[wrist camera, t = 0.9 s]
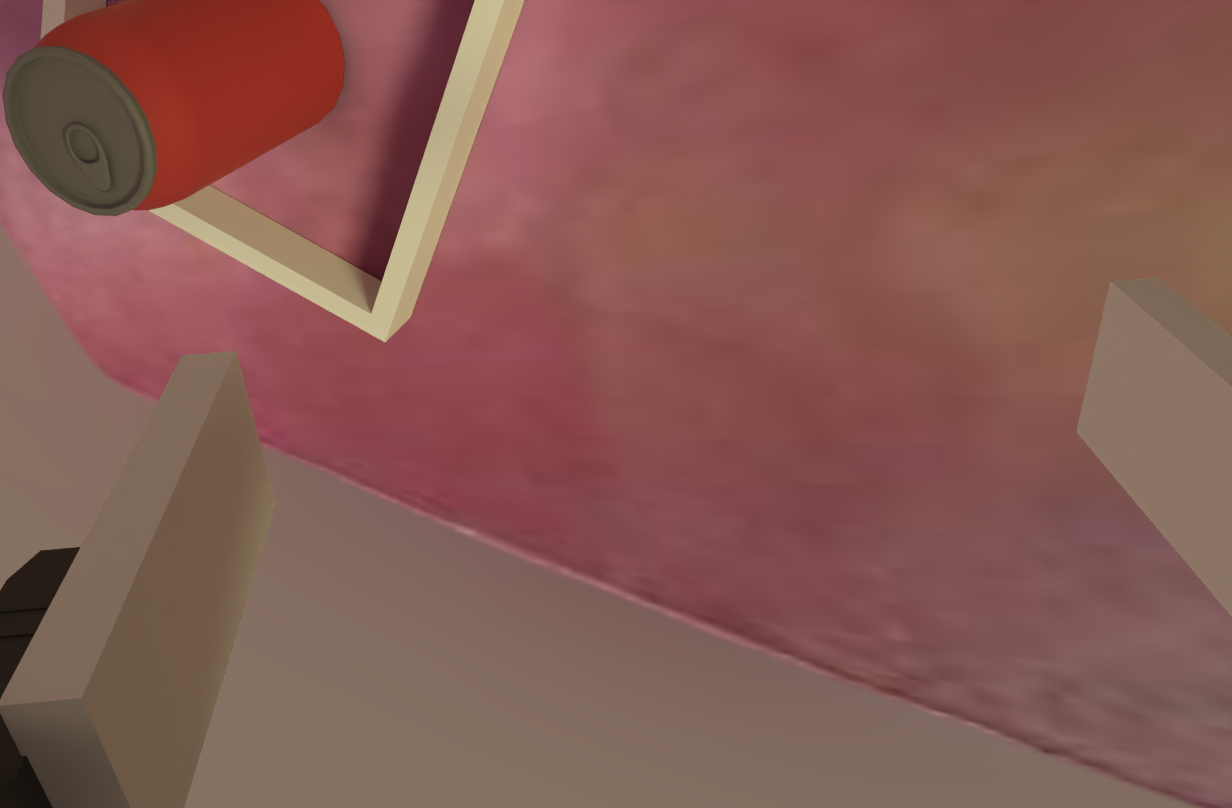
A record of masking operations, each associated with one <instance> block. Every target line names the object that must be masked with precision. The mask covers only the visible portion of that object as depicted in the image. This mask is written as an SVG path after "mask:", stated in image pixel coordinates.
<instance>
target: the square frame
mask: <svg viewBox="0 0 1232 808" xmlns="http://www.w3.org/2000/svg"><path fill="white" fill-rule="evenodd" d="M106 1H107V0H43V11H42V25H41V39H42V38H43V37H44V36H45V35H46V34H47V33H49V32H50V31H51V30H53V29H54V28H55V27H57V26H59V25H60V24H62V23H64V22H66V21H68V20H70V19H72V18H74V17H76V16H78V15H81V14H84V13H88V12H91V11H94V10H97V9H101V8H104V7H106ZM524 1H525V0H475V1H474V5H473V8H472V11H471V14H470V17H469V20H468V23H467V26H466V29H465V32H464V35H463V38H462V41H461V44H460V47H459V50H458V53H457V56H456V59H455V62H454V65H453V68H452V71H451V74H450V77H449V80H448V83H447V86H446V89H445V92H444V95H443V98H442V101H441V104H440V107H439V110H438V113H437V116H436V119H435V123H434V126H433V129H432V132H431V135H430V138H429V141H428V144H427V147H426V150H425V153H424V156H423V159H422V162H421V165H420V168H419V171H418V174H417V177H416V180H415V183H414V186H413V189H412V192H411V195H410V198H409V201H408V204H407V207H406V210H405V213H404V216H403V219H402V222H401V225H400V228H399V231H398V234H397V237H396V241H395V244H394V247H393V250H392V253H391V256H390V259H389V262H388V265H387V268H386V271H385V274H384V277H383V280H382V281H380V280H379V279H377V278H375V277H373V276H371V275H370V274H368V273H366V272H364V271H362V270H361V269H359V268H357V267H355V266H353V265H352V264H350V263H348V262H346V261H344V260H343V259H341V258H339V257H337V256H336V255H334V254H332V253H330V252H328V251H327V250H325V249H323V248H321V247H319V246H318V245H316V244H314V243H312V242H310V241H309V240H307V239H305V238H303V237H301V236H300V235H298V234H296V233H294V232H292V231H291V230H289V229H287V228H285V227H283V226H282V225H280V224H278V223H276V222H274V221H273V220H271V219H269V218H267V217H265V216H264V215H262V214H260V213H258V212H256V211H255V210H253V209H251V208H249V207H247V206H246V205H244V204H242V203H240V202H238V201H237V200H235V199H233V198H231V197H229V196H228V195H226V194H224V193H222V192H220V191H219V190H217V189H215V188H213V187H211V186H210V185H208V186H207V187H205V188H203V189H201V190H200V191H198V192H196V193H194V194H193V195H191V196H189V197H187V198H186V199H183V200H181V201H178V202H176V203H173V204H170V205H168V206H165V207H161V208H156V209H152V210H149V211H150V212H152V213H154V214H156V215H158V216H159V217H161V218H163V219H165V220H167V221H168V222H170V223H172V224H174V225H176V226H177V227H179V228H181V229H183V230H185V231H186V232H188V233H190V234H192V235H194V236H195V237H197V238H199V239H201V240H202V241H204V242H206V243H208V244H210V245H211V246H213V247H215V248H217V249H219V250H220V251H222V252H224V253H226V254H228V255H229V256H231V257H233V258H235V259H237V260H238V261H240V262H242V263H244V264H246V265H247V266H249V267H251V268H253V269H255V270H256V271H258V272H260V273H262V274H264V275H265V276H267V277H269V278H271V279H272V280H274V281H276V282H278V283H280V284H281V285H283V286H285V287H287V288H289V289H290V290H292V291H294V292H296V293H298V294H299V295H301V296H303V297H305V298H307V299H308V300H310V301H312V302H314V303H316V304H317V305H319V306H321V307H323V308H325V309H326V310H328V311H330V312H332V313H334V314H335V315H337V316H339V317H341V318H343V319H344V320H346V321H348V322H350V323H351V324H353V325H355V326H357V327H359V328H360V329H362V330H364V331H366V332H368V333H369V334H371V335H373V336H375V337H377V338H378V339H380V340H382V341H384V342H386V341H387V340H388V339H389V338H390V337H391V336H392V335H393V334H394V333H395V332H396V331H397V330H398V329H399V328H400V327H401V326H402V325H403V324H404V323H405V322H406V321H407V320H408V319H409V318H410V317H411V314H412V312H413V309H414V306H415V303H416V301H417V298H418V295H419V292H420V289H421V287H422V284H423V281H424V278H425V276H426V273H427V270H428V267H429V264H430V262H431V259H432V256H433V253H434V251H435V248H436V245H437V242H438V240H439V237H440V234H441V231H442V228H443V226H444V223H445V220H446V217H447V215H448V212H449V209H450V206H451V203H452V201H453V198H454V195H455V192H456V190H457V187H458V184H459V181H460V178H461V176H462V173H463V170H464V167H465V165H466V162H467V159H468V156H469V153H470V151H471V148H472V145H473V142H474V140H475V137H476V134H477V131H478V128H479V126H480V123H481V120H482V117H483V115H484V112H485V109H486V106H487V104H488V101H489V98H490V95H491V92H492V90H493V87H494V84H495V81H496V79H497V76H498V73H499V70H500V67H501V65H502V62H503V59H504V56H505V54H506V51H507V48H508V45H509V42H510V40H511V37H512V34H513V31H514V29H515V26H516V23H517V20H518V17H519V15H520V12H521V9H522V6H523V4H524ZM41 39H40V40H41Z"/></svg>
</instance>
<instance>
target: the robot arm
mask: <svg viewBox="0 0 1232 808" xmlns="http://www.w3.org/2000/svg"><path fill="white" fill-rule="evenodd" d="M1076 432H1077V433H1078V434H1079V436H1080V437H1081V438H1082V439H1083V440H1084V442H1085V443H1086V444H1087V445H1088V446H1089V448H1090V449H1091V450H1092V451H1093V452H1094V453H1095V455H1096V456H1097V457H1098V458H1099V459H1100V461H1101V462H1102V463H1103V464H1104V465H1105V467H1106V468H1107V469H1108V470H1109V471H1110V473H1111V474H1112V475H1113V476H1114V477H1115V478H1116V480H1117V481H1118V482H1119V483H1120V484H1121V486H1122V487H1123V488H1124V489H1125V490H1126V492H1127V493H1128V494H1129V495H1130V496H1131V497H1132V499H1133V500H1134V501H1135V502H1136V503H1137V505H1138V506H1139V507H1140V508H1141V509H1142V511H1143V512H1144V513H1145V514H1146V515H1147V517H1148V518H1149V519H1150V520H1151V521H1152V522H1153V524H1154V525H1155V526H1156V527H1157V528H1158V530H1159V531H1160V532H1161V533H1162V534H1163V536H1164V537H1165V538H1166V539H1167V540H1168V542H1169V543H1170V544H1171V545H1172V546H1173V547H1174V549H1175V550H1176V551H1177V552H1178V553H1179V555H1180V556H1181V557H1182V558H1183V559H1184V561H1185V562H1186V563H1187V564H1188V565H1189V567H1190V568H1191V569H1192V570H1193V571H1194V572H1195V574H1196V575H1197V576H1198V577H1199V578H1200V580H1201V581H1202V582H1203V583H1204V584H1205V586H1206V587H1207V588H1208V589H1209V590H1210V591H1211V593H1212V594H1213V595H1214V596H1215V597H1216V599H1217V600H1218V601H1219V602H1220V603H1221V605H1222V606H1223V607H1224V608H1225V609H1226V611H1227V612H1228V613H1229V614H1230V615H1231V616H1232V335H1230V334H1229V333H1228V332H1227V331H1226V330H1224V329H1223V328H1222V327H1221V326H1219V325H1218V324H1217V323H1216V322H1214V321H1213V320H1212V319H1211V318H1209V317H1208V316H1207V315H1206V314H1204V313H1203V312H1202V311H1201V310H1199V309H1198V308H1197V307H1196V306H1194V305H1193V304H1192V303H1191V302H1189V301H1188V300H1187V299H1186V298H1184V297H1183V296H1182V295H1181V294H1179V293H1178V292H1177V291H1176V290H1175V289H1173V288H1172V287H1171V286H1170V285H1168V284H1167V283H1166V282H1165V281H1163V280H1162V279H1161V278H1160V277H1154V278H1142V279H1129V280H1117V281H1110V285H1109V290H1108V294H1107V298H1106V303H1105V307H1104V312H1103V316H1102V321H1101V325H1100V329H1099V334H1098V338H1097V343H1096V347H1095V352H1094V356H1093V360H1092V365H1091V369H1090V374H1089V378H1088V383H1087V387H1086V391H1085V396H1084V400H1083V405H1082V409H1081V414H1080V418H1079V423H1078V427H1077V431H1076ZM275 504H276V500H275V497H274V493H273V489H272V486H271V482H270V478H269V474H268V471H267V467H266V463H265V459H264V456H263V452H262V448H261V444H260V441H259V437H258V433H257V429H256V426H255V422H254V418H253V414H252V411H251V407H250V403H249V399H248V396H247V392H246V388H245V384H244V381H243V377H242V373H241V369H240V366H239V362H238V358H237V354H236V351H232V352H219V353H207V354H194V355H182V357H181V358H180V360H179V362H178V364H177V366H176V368H175V370H174V372H173V374H172V375H171V377H170V379H169V381H168V383H167V385H166V387H165V389H164V391H163V392H162V394H161V396H160V398H159V400H158V402H157V404H156V406H155V408H154V410H153V411H152V413H151V415H150V417H149V419H148V421H147V423H146V425H145V427H144V428H143V430H142V432H141V434H140V436H139V438H138V440H137V442H136V444H135V445H134V447H133V449H132V451H131V453H130V455H129V457H128V459H127V461H126V463H125V464H124V466H123V468H122V470H121V472H120V474H119V476H118V478H117V480H116V481H115V483H114V485H113V487H112V489H111V491H110V493H109V495H108V497H107V498H106V500H105V502H104V504H103V506H102V508H101V510H100V512H99V513H98V516H97V517H96V519H95V521H94V523H93V525H92V527H91V529H90V530H89V532H88V534H87V536H86V538H85V540H84V542H83V544H82V546H81V547H76V548H65V549H54V550H42V551H40V552H39V553H38V554H36V555H35V556H34V557H33V558H32V559H31V560H29V561H28V562H27V563H26V564H25V565H24V566H23V567H21V568H20V569H19V570H18V571H17V572H16V573H14V574H13V575H12V576H11V577H10V578H9V579H8V580H6V582H5V584H4V585H3V587H2V589H1V591H0V808H184V806H185V803H186V800H187V796H188V793H189V790H190V786H191V783H192V780H193V776H194V773H195V770H196V766H197V763H198V760H199V756H200V753H201V750H202V747H203V743H204V740H205V737H206V733H207V730H208V727H209V723H210V720H211V716H212V713H213V710H214V707H215V703H216V700H217V696H218V693H219V690H220V687H221V684H222V680H223V677H224V674H225V670H226V667H227V664H228V660H229V657H230V653H231V650H232V647H233V643H234V640H235V637H236V633H237V630H238V627H239V624H240V620H241V617H242V614H243V610H244V607H245V604H246V600H247V597H248V594H249V591H250V587H251V584H252V581H253V577H254V574H255V571H256V567H257V564H258V560H259V557H260V554H261V551H262V547H263V544H264V540H265V537H266V534H267V531H268V527H269V524H270V521H271V517H272V514H273V511H274V507H275Z"/></svg>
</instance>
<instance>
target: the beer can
mask: <svg viewBox="0 0 1232 808" xmlns="http://www.w3.org/2000/svg"><path fill="white" fill-rule="evenodd" d="M344 64H345V60H344V55H343V50H342V45H341V40H340V36H339V33H338V31H337V29H336V27H335V25H334V23H333V21H332V19H331V17H330V15H329V13H328V11H327V9H326V8H325V7H324V6H323V5H322V3H321V2H320V1H319V0H127V1H124V2H120V3H117V4H114V5H110V6H107V7H104V8H101V9H97V10H94V11H91V12H88V13H84V14H81V15H78V16H76V17H74V18H72V19H70V20H68V21H66V22H64V23H62V24H60V25H59V26H57V27H55V28H54V29H53V30H51V31H50V32H49V33H47V34H46V35H45V36H44V37H43V38H42V39H41V40H40V42H39V43H38V44H37V45H36V47H35V48H34V49H32V50H30V51H28V52H26V53H24V54H22V55H20V56H18V58H17V59H16V61H15V62H14V64H13V65H12V67H11V68H10V69H9V71H8V72H7V76H6V81H5V86H4V91H3V102H4V110H5V118H6V123H7V126H8V128H9V131H10V134H11V136H12V139H13V142H14V144H15V147H16V149H17V150H18V152H19V153H20V155H21V156H22V158H23V160H24V161H25V163H26V164H27V166H28V167H29V169H30V171H31V172H32V173H33V174H34V175H35V176H36V177H37V178H38V179H39V180H40V181H41V182H42V183H43V184H44V185H45V186H46V187H47V188H48V189H49V190H50V191H51V192H52V193H54V194H55V195H57V196H58V197H59V198H61V199H62V200H64V201H65V202H67V203H68V204H70V205H71V206H73V207H75V208H78V209H80V210H83V211H86V212H88V213H91V214H94V215H106V216H117V215H120V214H123V213H125V212H128V211H131V210H152V209H156V208H161V207H165V206H168V205H170V204H173V203H176V202H178V201H181V200H183V199H186V198H187V197H189V196H191V195H193V194H194V193H196V192H198V191H200V190H201V189H203V188H205V187H207V186H208V185H210V184H212V183H214V182H215V181H217V180H219V179H221V178H222V177H224V176H226V175H228V174H229V173H231V172H233V171H235V170H236V169H238V168H240V167H242V166H243V165H245V164H247V163H249V162H250V161H252V160H254V159H256V158H257V157H259V156H261V155H263V154H264V153H266V152H268V151H270V150H271V149H273V148H275V147H277V146H278V145H280V144H282V143H284V142H285V141H287V140H289V139H291V138H292V137H294V136H296V135H298V134H299V133H301V132H303V131H305V130H306V129H308V128H310V127H312V126H313V125H315V124H317V123H319V122H320V121H321V120H322V119H323V118H324V117H325V116H326V115H327V114H328V113H329V112H330V111H331V110H332V109H333V108H334V106H335V104H336V101H337V99H338V96H339V94H340V92H341V89H342V87H343V78H344Z"/></svg>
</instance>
